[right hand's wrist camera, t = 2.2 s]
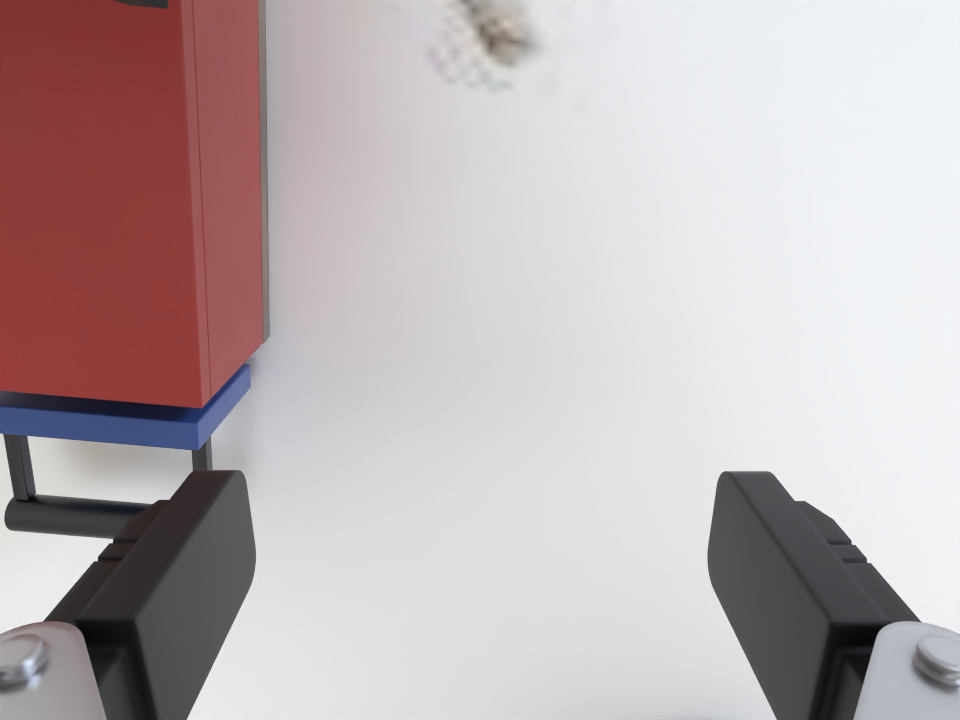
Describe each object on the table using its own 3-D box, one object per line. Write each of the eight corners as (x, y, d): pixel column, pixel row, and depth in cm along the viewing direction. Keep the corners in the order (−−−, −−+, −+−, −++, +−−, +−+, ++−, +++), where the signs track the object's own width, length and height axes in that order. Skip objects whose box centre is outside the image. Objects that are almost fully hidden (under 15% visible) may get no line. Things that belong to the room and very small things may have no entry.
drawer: (253, 489, 34) (205, 570, 28) (73, 474, 33) (-14, 553, 27) (240, -43, 25) (168, -88, 20) (2, -70, 25) (-144, -123, 19)
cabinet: (269, 336, 32) (202, 409, 24) (52, 316, 31) (-86, 383, 24) (263, -143, 25) (167, -252, 17) (-12, -175, 25) (-233, -300, 17)
